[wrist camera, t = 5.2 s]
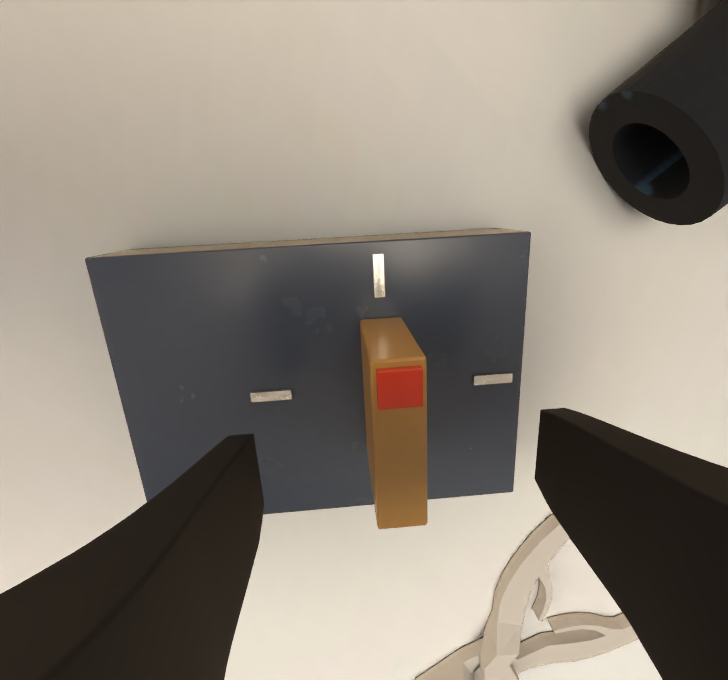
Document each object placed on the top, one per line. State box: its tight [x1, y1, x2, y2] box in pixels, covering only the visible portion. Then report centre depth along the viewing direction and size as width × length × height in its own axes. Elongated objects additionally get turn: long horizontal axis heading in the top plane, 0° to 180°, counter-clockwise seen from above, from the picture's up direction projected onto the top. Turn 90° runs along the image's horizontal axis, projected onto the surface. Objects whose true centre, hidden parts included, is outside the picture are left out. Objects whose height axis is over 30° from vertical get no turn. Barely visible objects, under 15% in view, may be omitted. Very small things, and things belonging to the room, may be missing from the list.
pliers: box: [415, 514, 639, 680], centre depth 22 cm, size 10×2×15 cm
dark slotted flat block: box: [85, 228, 531, 514], centre depth 16 cm, size 14×10×3 cm
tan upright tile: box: [360, 317, 427, 529], centre depth 12 cm, size 5×1×4 cm, turn 3°
